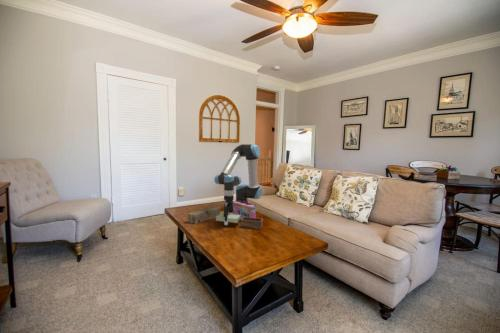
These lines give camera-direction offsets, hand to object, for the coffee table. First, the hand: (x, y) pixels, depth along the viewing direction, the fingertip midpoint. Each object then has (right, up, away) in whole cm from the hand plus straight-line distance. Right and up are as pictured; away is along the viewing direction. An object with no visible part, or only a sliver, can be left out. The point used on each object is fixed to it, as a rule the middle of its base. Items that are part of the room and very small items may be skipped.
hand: (228, 222), depth 179 cm
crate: (+18, -2, -4) cm, 19 cm away
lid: (0, +2, 0) cm, 2 cm away
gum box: (+11, -1, +15) cm, 19 cm away
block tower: (-21, 0, +13) cm, 25 cm away
